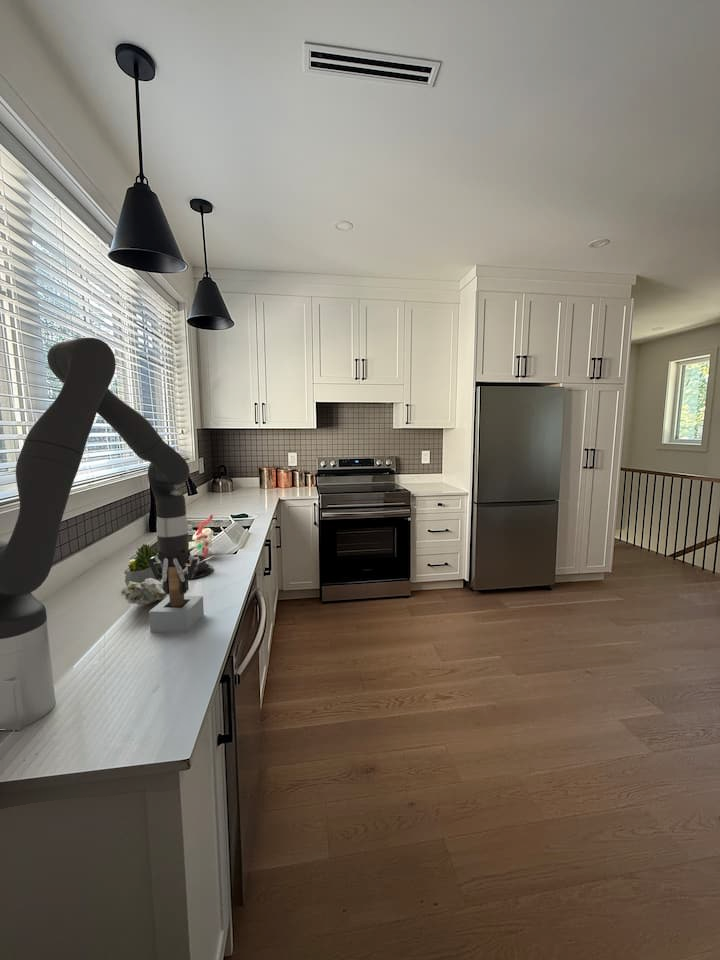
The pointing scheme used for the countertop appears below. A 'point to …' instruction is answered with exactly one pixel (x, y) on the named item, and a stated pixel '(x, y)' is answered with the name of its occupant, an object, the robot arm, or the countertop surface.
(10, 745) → the countertop surface
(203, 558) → the soup bowl
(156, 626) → the socket
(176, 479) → the robot arm
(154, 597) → the rock
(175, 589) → the peg
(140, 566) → the potted plant
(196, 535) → the anatomical model
